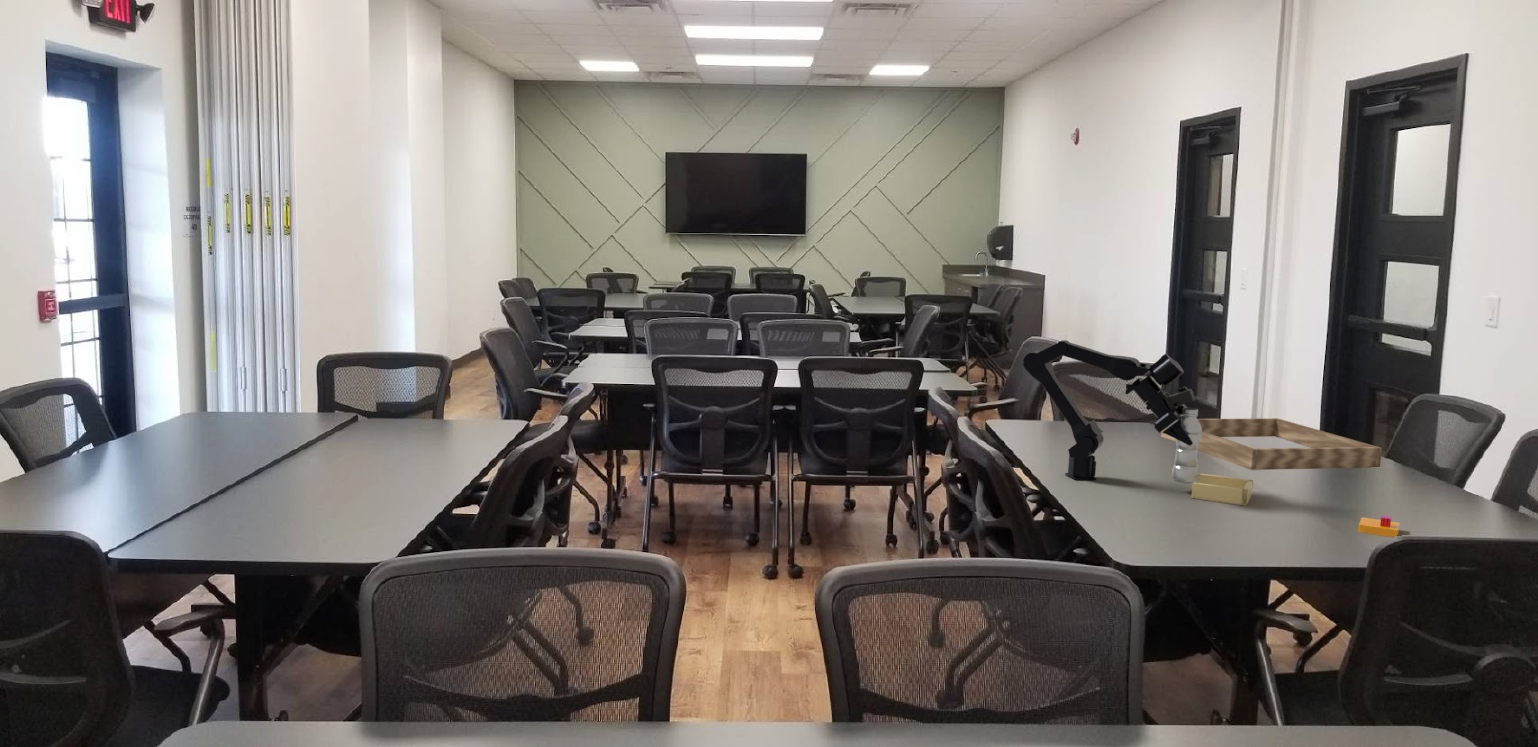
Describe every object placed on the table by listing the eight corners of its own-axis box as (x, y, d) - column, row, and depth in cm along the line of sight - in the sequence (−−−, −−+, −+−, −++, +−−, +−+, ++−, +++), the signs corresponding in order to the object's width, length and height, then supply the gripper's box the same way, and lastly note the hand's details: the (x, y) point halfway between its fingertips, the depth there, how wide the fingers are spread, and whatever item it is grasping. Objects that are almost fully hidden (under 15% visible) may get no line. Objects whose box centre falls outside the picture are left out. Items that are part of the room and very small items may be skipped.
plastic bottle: (1194, 487, 286) (1201, 411, 284) (1168, 483, 290) (1174, 408, 287) (1200, 482, 292) (1206, 408, 289) (1174, 478, 295) (1180, 405, 293)
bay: (1191, 498, 284) (1192, 483, 284) (1198, 487, 296) (1199, 473, 295) (1246, 505, 278) (1247, 490, 277) (1251, 495, 289) (1253, 480, 289)
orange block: (1358, 533, 256) (1359, 515, 256) (1360, 526, 263) (1362, 508, 263) (1397, 539, 252) (1399, 521, 252) (1398, 531, 259) (1400, 514, 258)
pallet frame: (1251, 469, 320) (1252, 449, 319) (1161, 436, 368) (1162, 419, 367) (1379, 467, 328) (1382, 447, 328) (1275, 435, 376) (1277, 418, 375)
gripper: (1171, 381, 281) (1213, 429, 277) (1183, 373, 297) (1223, 418, 293) (1137, 408, 286) (1178, 455, 282) (1150, 399, 302) (1189, 443, 298)
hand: (1193, 442), depth 289 cm, fingers closed on plastic bottle, 6 cm apart
